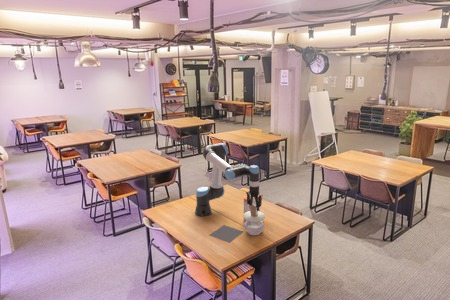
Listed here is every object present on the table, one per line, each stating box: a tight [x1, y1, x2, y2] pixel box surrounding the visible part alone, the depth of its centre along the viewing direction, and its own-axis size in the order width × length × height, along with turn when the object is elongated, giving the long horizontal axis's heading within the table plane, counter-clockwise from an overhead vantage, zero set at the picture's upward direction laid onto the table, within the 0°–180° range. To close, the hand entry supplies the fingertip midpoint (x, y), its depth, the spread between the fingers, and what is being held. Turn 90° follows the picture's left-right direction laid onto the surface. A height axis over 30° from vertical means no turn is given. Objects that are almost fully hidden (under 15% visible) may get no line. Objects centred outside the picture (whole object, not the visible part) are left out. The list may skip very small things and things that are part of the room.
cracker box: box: [243, 195, 261, 222], centre depth 266 cm, size 14×6×21 cm, turn 122°
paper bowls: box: [244, 220, 265, 236], centre depth 246 cm, size 15×15×8 cm
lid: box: [243, 203, 266, 222], centre depth 242 cm, size 17×17×10 cm
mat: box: [209, 224, 245, 243], centre depth 246 cm, size 20×20×1 cm
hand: (254, 213), depth 243 cm, fingers closed on lid, 4 cm apart
